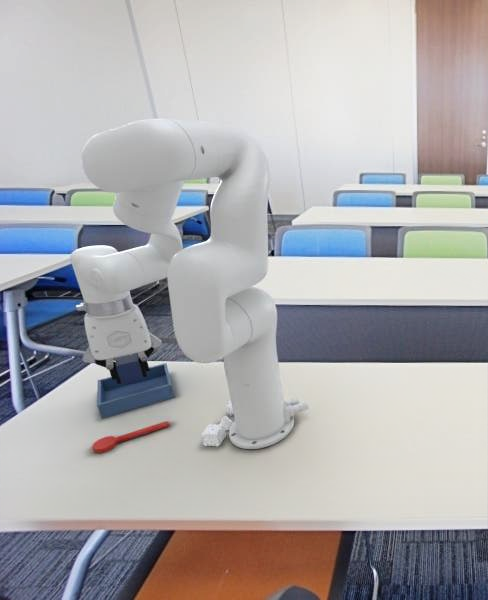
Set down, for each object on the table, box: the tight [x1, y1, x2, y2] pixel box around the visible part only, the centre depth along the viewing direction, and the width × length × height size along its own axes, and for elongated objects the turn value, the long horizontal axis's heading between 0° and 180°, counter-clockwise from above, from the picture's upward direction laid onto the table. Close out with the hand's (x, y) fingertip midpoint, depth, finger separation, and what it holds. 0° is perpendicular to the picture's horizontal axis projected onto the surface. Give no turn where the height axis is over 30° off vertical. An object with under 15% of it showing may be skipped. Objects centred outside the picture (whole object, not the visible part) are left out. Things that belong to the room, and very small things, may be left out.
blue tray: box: [96, 362, 176, 419], centre depth 92 cm, size 13×11×4 cm
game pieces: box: [200, 400, 234, 447], centre depth 84 cm, size 12×3×3 cm, turn 1°
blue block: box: [114, 353, 144, 385], centre depth 90 cm, size 4×4×5 cm
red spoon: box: [91, 421, 170, 454], centre depth 80 cm, size 12×4×1 cm, turn 128°
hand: (132, 376), depth 91 cm, fingers closed on blue block, 4 cm apart
